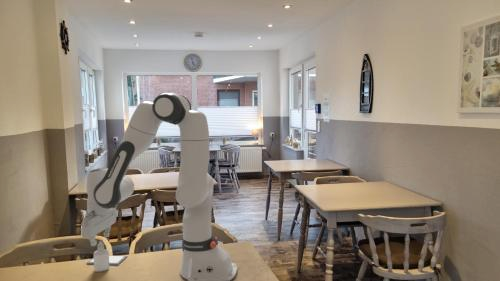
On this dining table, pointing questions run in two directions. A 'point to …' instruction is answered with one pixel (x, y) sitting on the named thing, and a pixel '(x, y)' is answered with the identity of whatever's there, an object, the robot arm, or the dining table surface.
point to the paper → (113, 259)
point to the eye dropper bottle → (101, 258)
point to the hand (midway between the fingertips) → (100, 241)
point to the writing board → (110, 263)
